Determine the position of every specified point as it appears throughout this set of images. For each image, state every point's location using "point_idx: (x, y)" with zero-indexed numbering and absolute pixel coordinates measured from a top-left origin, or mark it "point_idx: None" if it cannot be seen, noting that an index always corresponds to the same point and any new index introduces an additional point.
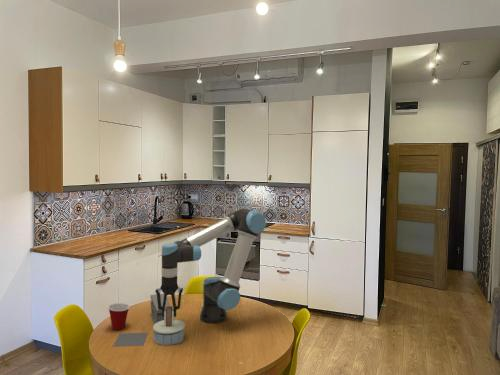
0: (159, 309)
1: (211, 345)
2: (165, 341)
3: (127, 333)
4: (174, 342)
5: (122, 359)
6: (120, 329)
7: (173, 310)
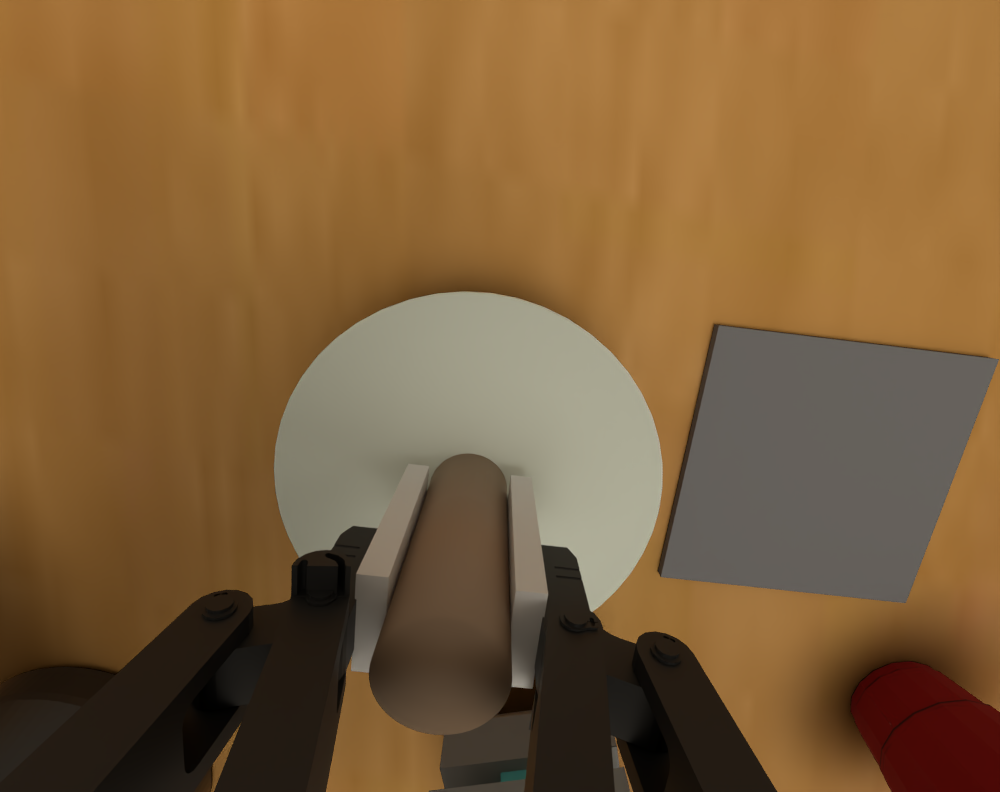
0: (655, 635)
1: (58, 222)
2: None
3: (840, 591)
4: None
5: (926, 84)
6: (893, 671)
7: (350, 562)
